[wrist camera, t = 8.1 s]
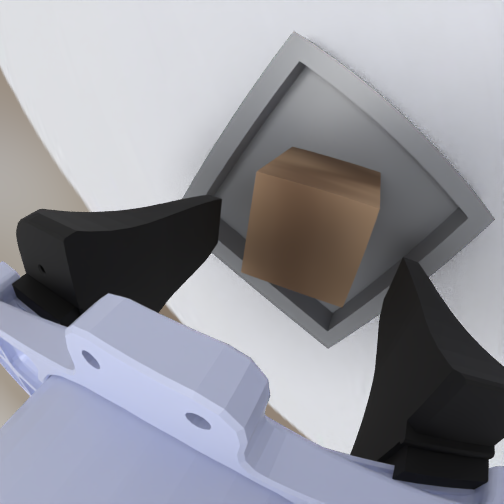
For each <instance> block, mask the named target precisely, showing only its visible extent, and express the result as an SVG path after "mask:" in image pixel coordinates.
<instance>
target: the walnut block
mask: <svg viewBox="0 0 504 504" xmlns="http://www.w3.org/2000/svg"><path fill="white" fill-rule="evenodd" d="M380 186H381V173H380V172H377V171H374V170H371V169H368V168H365V167H362V166H359V165H356V164H353V163H349V162H346V161H343V160H339V159H336V158H332V157H329V156H326V155H322V154H318V153H315V152H311V151H307V150H304V149H300V148H296V147H291V148H290V149H288V150H287V151H285V152H284V153H282V154H281V155H280V156H278V157H277V158H275V159H274V160H272V161H271V162H269V163H268V164H266V165H265V166H264V167H262V168H261V169H259V170H258V171H257V172H256V178H255V184H254V191H253V197H252V204H251V210H250V217H249V223H248V230H247V236H246V243H245V249H244V256H243V262H242V269H241V272H242V273H244V274H247V275H250V276H253V277H255V278H258V279H261V280H264V281H267V282H270V283H272V284H275V285H278V286H281V287H284V288H287V289H289V290H292V291H295V292H298V293H301V294H304V295H307V296H309V297H312V298H315V299H318V300H321V301H324V302H327V303H330V304H333V305H336V306H338V307H341V308H343V305H344V303H345V301H346V298H347V296H348V293H349V291H350V288H351V286H352V283H353V281H354V278H355V276H356V273H357V271H358V268H359V266H360V263H361V260H362V258H363V255H364V252H365V250H366V247H367V244H368V241H369V239H370V236H371V233H372V230H373V227H374V224H375V222H376V219H377V216H378V213H379V210H380Z"/></svg>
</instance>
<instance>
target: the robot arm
mask: <svg viewBox="0 0 504 504" xmlns="http://www.w3.org/2000/svg"><path fill="white" fill-rule="evenodd" d="M221 206H222V199H221V198H218V197H214V196H211V195H201V196H195V197H190V198H185V199H181V200H176V201H172V202H168V203H163V204H158V205H153V206H148V207H143V208H136V209H129V210H120V211H105V212H68V211H57V210H47V209H39V210H37V211H35V212H33V213H31V214H30V215H28V216H26V217H24V218H23V219H21V220H20V221H19V223H18V226H17V230H16V236H17V242H18V247H19V251H20V254H21V257H22V261H23V264H24V268H25V271H26V274H25V275H23V276H22V277H21V278H20V276H19V275H18V273H17V272H16V271H15V270H14V269H13V268H12V267H10V266H9V265H8V264H7V263H5V262H3V261H2V262H1V263H0V363H1V365H2V366H3V367H4V368H5V369H6V370H7V371H8V373H9V374H10V375H11V376H12V377H13V378H14V379H15V380H16V382H17V383H18V384H19V385H20V386H21V387H22V388H23V389H24V390H25V391H26V392H27V393H28V394H29V396H30V397H29V399H28V400H27V401H26V402H25V403H24V404H23V405H22V406H21V407H20V408H19V409H18V410H17V411H16V412H15V413H14V414H13V415H12V417H11V418H10V419H9V420H8V421H7V422H6V423H5V424H4V425H3V426H2V427H1V428H0V504H504V466H495V467H492V468H489V459H491V458H493V457H494V455H495V449H494V445H496V444H497V443H498V442H499V441H501V440H502V439H503V438H504V366H502V365H501V364H500V363H499V362H498V361H497V360H496V359H494V358H493V357H492V356H491V355H490V354H489V353H488V352H487V351H486V350H484V349H483V348H482V347H481V346H480V344H479V343H478V342H477V341H476V340H475V339H474V338H473V337H472V336H471V335H470V334H469V333H468V332H467V331H466V329H465V328H464V327H463V326H462V325H461V323H460V322H459V321H458V320H457V319H456V317H455V316H454V315H453V313H452V312H451V311H450V309H449V308H448V306H447V305H446V303H445V302H444V301H443V299H442V298H441V296H440V295H439V293H438V292H437V290H436V289H435V287H434V285H433V284H432V282H431V281H430V279H429V278H428V276H427V274H426V273H425V271H424V270H423V268H422V267H421V266H420V264H419V263H418V262H416V261H413V260H410V259H408V258H405V257H403V258H402V260H401V263H400V265H399V267H398V269H397V272H396V274H395V276H394V278H393V280H392V283H391V285H390V287H389V289H388V291H387V293H386V295H385V297H384V299H383V304H382V309H381V314H380V320H379V330H378V342H377V354H376V365H375V373H374V379H373V383H372V387H371V391H370V395H369V399H368V403H367V406H366V410H365V413H364V417H363V420H362V423H361V426H360V429H359V432H358V435H357V438H356V441H355V443H354V446H353V449H352V451H351V454H350V455H349V454H345V453H341V452H338V451H334V450H331V449H328V448H324V447H322V446H320V445H318V444H316V443H314V442H312V441H310V440H308V439H306V438H305V437H303V436H301V435H299V434H297V433H295V432H294V431H292V430H290V429H288V428H286V427H285V426H283V425H281V424H279V423H278V422H276V421H274V420H273V419H271V418H269V417H267V416H266V415H265V409H266V406H267V403H268V401H269V398H270V390H269V382H268V378H267V377H266V376H265V374H264V373H263V372H262V371H261V370H260V368H259V367H258V366H257V365H256V364H255V362H254V361H253V360H252V359H251V358H250V357H248V356H247V355H245V354H243V353H242V352H240V351H238V350H237V349H235V348H234V347H232V346H230V345H229V344H227V343H224V342H222V341H219V340H217V339H215V338H212V337H210V336H208V335H205V334H203V333H201V332H199V331H196V330H194V329H192V328H190V327H187V326H185V325H183V324H181V323H179V322H176V321H174V320H172V319H170V318H168V317H166V316H163V315H161V314H159V311H160V310H161V309H162V307H163V306H164V305H165V303H166V302H167V301H168V300H169V298H170V297H171V296H172V295H173V294H174V293H175V292H176V291H177V290H178V289H179V288H180V287H181V286H182V285H183V283H184V282H185V281H186V280H187V279H188V278H189V277H190V276H191V275H192V274H193V273H194V272H195V271H196V270H197V269H198V268H199V267H200V266H201V265H202V264H203V263H204V262H205V261H206V259H207V258H208V257H209V255H210V254H211V252H212V251H213V249H214V248H215V247H216V245H217V244H218V236H219V226H220V216H221Z"/></svg>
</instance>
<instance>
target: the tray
mask: <svg viewBox="0 0 504 504" xmlns="http://www.w3.org/2000/svg"><path fill="white" fill-rule="evenodd" d="M291 147H296V148H300V149H304V150H307V151H311V152H315V153H318V154H322V155H326V156H329V157H332V158H336V159H339V160H343V161H346V162H349V163H353V164H356V165H359V166H362V167H365V168H368V169H371V170H374V171H377V172H380V173H381V186H380V210H379V213H378V216H377V219H376V222H375V224H374V227H373V230H372V233H371V236H370V239H369V241H368V244H367V247H366V250H365V252H364V255H363V258H362V260H361V263H360V266H359V268H358V271H357V273H356V276H355V278H354V281H353V283H352V286H351V288H350V291H349V293H348V296H347V298H346V301H345V303H344V305H343V308H341V307H338V306H336V305H333V304H330V303H327V302H324V301H321V300H318V299H315V298H312V297H309V296H307V295H304V294H301V293H298V292H295V291H292V290H289V289H287V288H284V287H281V286H278V285H275V284H272V283H270V282H267V281H264V280H261V279H258V278H255V277H253V276H250V275H247V274H244V273H242V272H241V269H242V262H243V256H244V249H245V243H246V236H247V230H248V223H249V217H250V210H251V204H252V197H253V191H254V184H255V178H256V172H257V171H258V170H259V169H261V168H262V167H264V166H265V165H266V164H268V163H269V162H271V161H272V160H274V159H275V158H277V157H278V156H280V155H281V154H282V153H284V152H285V151H287V150H288V149H290V148H291ZM201 195H211V196H214V197H218V198H221V199H222V206H221V216H220V226H219V236H218V244H217V245H216V247H215V248H214V249H213V251H212V253H213V254H214V255H215V256H216V257H217V258H219V259H220V260H221V261H222V262H223V263H225V264H226V265H227V266H228V267H229V268H230V269H232V270H233V271H234V272H235V273H236V274H238V275H239V276H240V277H241V278H242V279H244V280H245V281H246V282H247V283H248V284H250V285H251V286H252V287H253V288H254V289H256V290H257V291H258V292H259V293H260V294H262V295H263V296H264V297H265V298H266V299H268V300H269V301H270V302H271V303H272V304H274V305H275V306H276V307H277V308H278V309H280V310H281V311H282V312H283V313H285V314H286V315H287V316H288V317H289V318H291V319H292V320H293V321H294V322H296V323H297V324H298V325H299V326H300V327H302V328H303V329H304V330H305V331H307V332H308V333H309V334H310V335H312V336H313V337H314V338H315V339H317V340H318V341H319V342H320V343H321V344H323V345H324V346H325V347H326V348H330V347H331V346H333V345H334V344H336V343H338V342H339V341H341V340H342V339H344V338H345V337H347V336H348V335H350V334H351V333H353V332H354V331H356V330H357V329H359V328H360V327H362V326H363V325H365V324H366V323H367V322H369V321H370V320H372V319H373V318H375V317H376V316H377V315H379V314H380V313H381V309H382V304H383V299H384V297H385V295H386V293H387V291H388V289H389V287H390V285H391V283H392V280H393V278H394V276H395V274H396V272H397V269H398V267H399V265H400V263H401V260H402V258H403V257H405V258H408V259H410V260H413V261H416V262H418V263H419V264H420V266H421V267H422V268H423V270H424V271H425V273H426V274H427V276H428V277H429V276H431V275H432V274H433V273H434V272H436V271H437V270H438V269H439V268H440V267H442V266H443V265H444V264H445V263H447V262H448V261H449V260H450V259H451V258H452V257H454V256H455V255H456V254H457V253H458V252H459V251H461V250H462V249H463V248H464V247H465V246H466V245H468V244H469V243H470V242H471V241H472V240H473V239H474V238H475V237H476V236H478V235H479V234H480V233H481V232H482V231H483V230H484V229H485V228H486V227H487V226H488V225H490V224H491V223H492V222H493V221H494V220H495V219H494V217H493V216H492V215H491V213H490V212H489V210H488V209H487V208H486V206H485V205H484V204H483V202H482V201H481V200H480V199H479V197H478V196H477V195H476V193H475V192H474V191H473V190H472V188H471V187H470V186H469V185H468V184H467V182H466V181H465V180H464V179H463V178H462V176H461V175H460V174H459V173H458V172H457V171H456V169H455V168H454V167H453V166H452V165H451V164H450V163H449V162H448V160H447V159H446V158H445V157H444V156H443V155H442V154H441V153H440V152H439V151H438V150H437V148H436V147H435V146H434V145H433V144H432V143H431V142H430V141H429V140H428V139H427V138H426V137H425V136H424V135H423V134H422V133H421V132H420V131H419V130H418V129H417V128H416V127H415V126H414V125H413V124H412V123H411V122H410V121H409V120H408V119H407V118H406V117H404V116H403V115H402V114H401V113H400V112H399V111H398V110H397V109H396V108H395V107H394V106H392V105H391V104H390V103H389V102H388V101H387V100H386V99H385V98H383V97H382V96H381V95H380V94H379V93H378V92H376V91H375V90H374V89H373V88H372V87H370V86H369V85H368V84H367V83H366V82H364V81H363V80H362V79H361V78H359V77H358V76H357V75H356V74H354V73H353V72H352V71H350V70H349V69H348V68H347V67H345V66H344V65H343V64H341V63H340V62H339V61H337V60H336V59H335V58H333V57H332V56H330V55H329V54H328V53H326V52H325V51H323V50H322V49H320V48H319V47H318V46H316V45H315V44H313V43H312V42H310V41H309V40H307V39H306V38H304V37H303V36H301V35H299V34H298V33H296V32H295V31H293V33H292V34H291V35H290V37H289V38H288V39H287V41H286V42H285V43H284V45H283V46H282V47H281V49H280V50H279V51H278V53H277V54H276V55H275V57H274V58H273V59H272V61H271V62H270V64H269V65H268V66H267V68H266V69H265V70H264V72H263V73H262V75H261V76H260V78H259V79H258V80H257V82H256V83H255V85H254V86H253V88H252V89H251V90H250V92H249V93H248V95H247V96H246V98H245V99H244V101H243V102H242V104H241V105H240V107H239V108H238V110H237V111H236V113H235V114H234V116H233V117H232V119H231V120H230V122H229V123H228V125H227V126H226V128H225V129H224V131H223V133H222V134H221V136H220V137H219V139H218V140H217V142H216V144H215V145H214V147H213V148H212V150H211V152H210V153H209V155H208V156H207V158H206V160H205V161H204V163H203V165H202V166H201V168H200V170H199V171H198V173H197V174H196V176H195V178H194V180H193V181H192V183H191V185H190V186H189V188H188V190H187V191H186V193H185V195H184V197H183V198H182V199H185V198H190V197H195V196H201Z"/></svg>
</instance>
